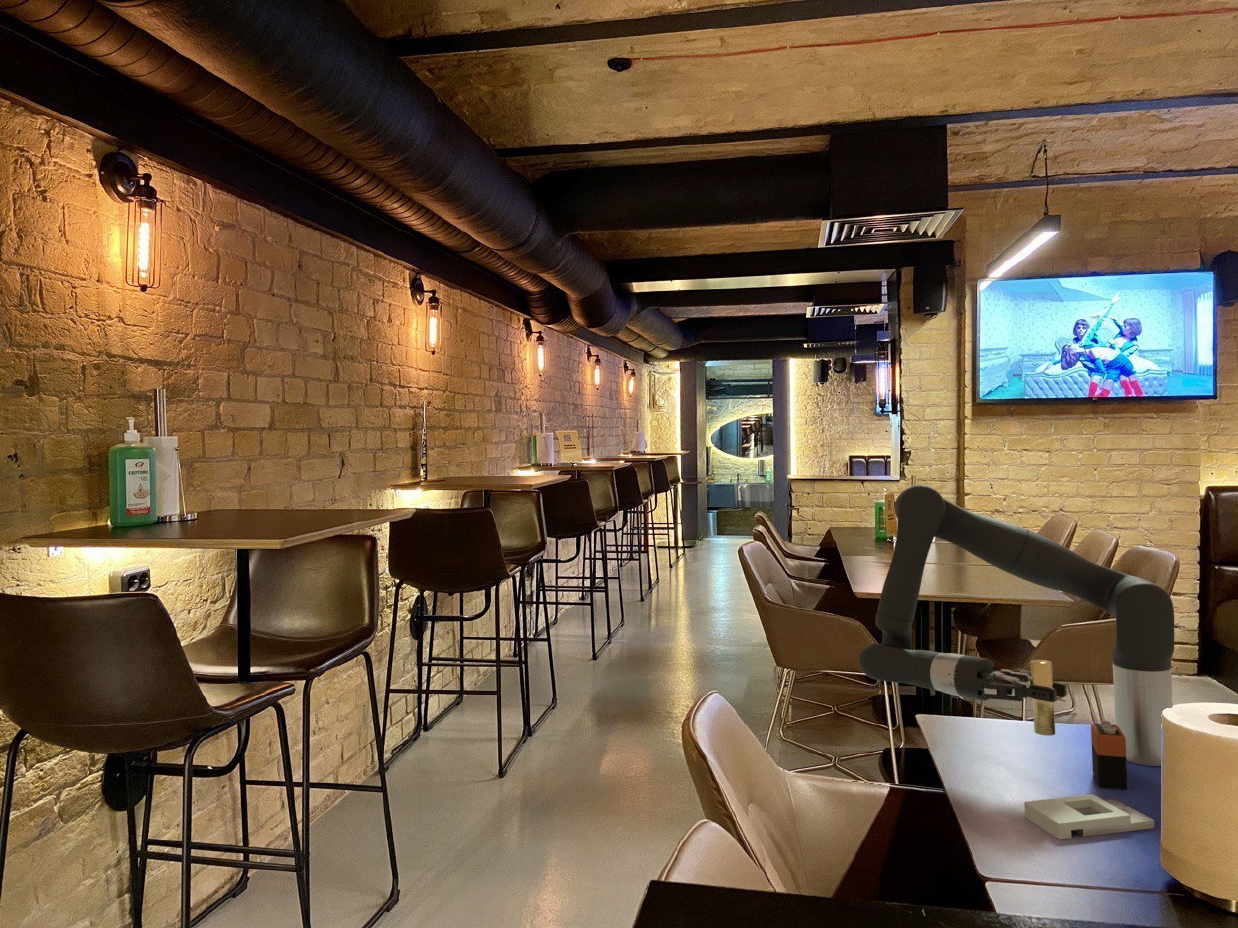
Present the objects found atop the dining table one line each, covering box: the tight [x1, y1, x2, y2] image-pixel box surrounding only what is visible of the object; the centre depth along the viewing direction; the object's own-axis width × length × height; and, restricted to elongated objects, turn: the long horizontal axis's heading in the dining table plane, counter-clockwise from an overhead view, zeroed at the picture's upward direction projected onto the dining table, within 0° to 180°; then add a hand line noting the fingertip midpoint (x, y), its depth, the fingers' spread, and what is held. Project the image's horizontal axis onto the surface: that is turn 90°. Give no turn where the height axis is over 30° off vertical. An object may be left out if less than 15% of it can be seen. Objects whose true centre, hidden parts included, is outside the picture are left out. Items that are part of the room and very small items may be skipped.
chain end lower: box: [1073, 798, 1155, 837], centre depth 128 cm, size 12×8×1 cm, turn 99°
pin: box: [1030, 659, 1057, 737], centre depth 139 cm, size 3×3×12 cm
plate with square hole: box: [1023, 793, 1131, 840], centre depth 127 cm, size 12×8×2 cm, turn 99°
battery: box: [1090, 720, 1128, 790], centre depth 142 cm, size 4×7×10 cm, turn 158°
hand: (1060, 692), depth 137 cm, fingers closed on pin, 3 cm apart
